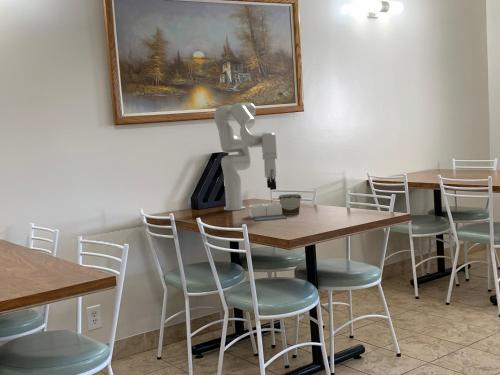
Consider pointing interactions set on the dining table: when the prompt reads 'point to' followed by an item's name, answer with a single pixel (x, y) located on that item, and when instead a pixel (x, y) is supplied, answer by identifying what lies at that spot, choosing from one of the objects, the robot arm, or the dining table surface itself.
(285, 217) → the mat
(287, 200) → the food container
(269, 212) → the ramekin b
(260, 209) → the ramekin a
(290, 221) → the dining table surface
